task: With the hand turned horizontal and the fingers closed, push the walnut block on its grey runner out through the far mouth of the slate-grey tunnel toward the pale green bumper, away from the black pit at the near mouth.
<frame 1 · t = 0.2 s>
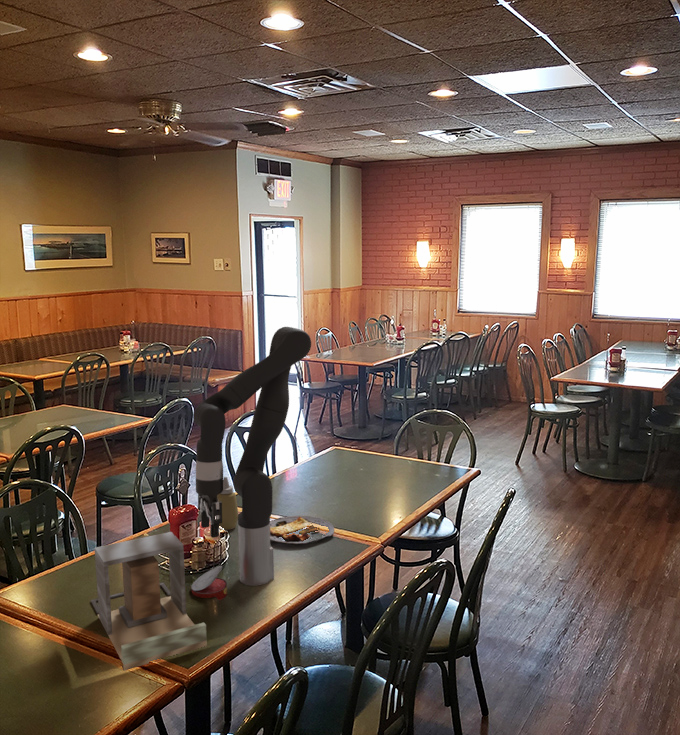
hand: (209, 531, 201), 18 cm above the table, tool pointing down, fingers open, 8 cm apart
tunnel: (143, 621, 187), on the table
squeeze bottle: (227, 527, 251), on the table
canned food: (209, 595, 202), on the table
food plate: (296, 535, 244), on the table
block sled: (141, 586, 186), point 10 cm above the table, slide at 0.0 cm
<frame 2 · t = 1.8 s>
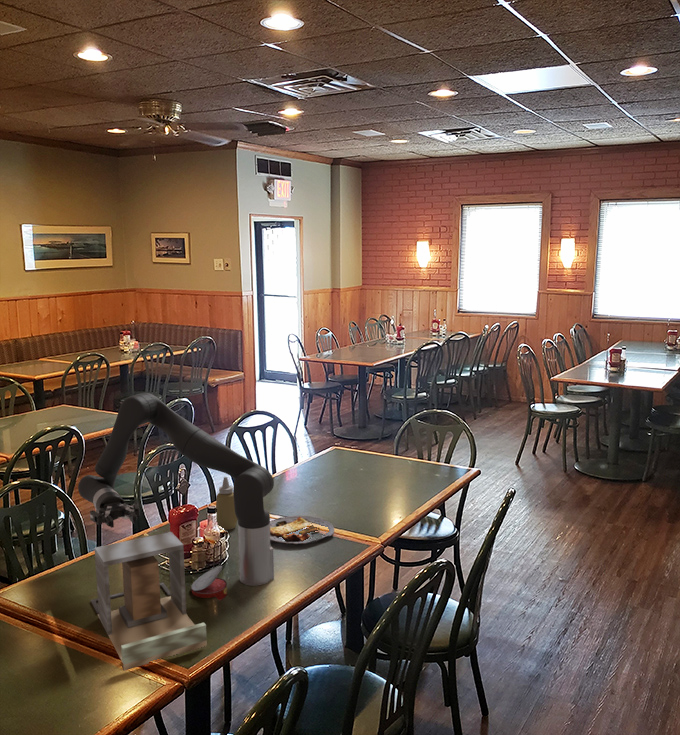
hand: (123, 521, 197), 22 cm above the table, tool horizontal, fingers open, 5 cm apart
nothing on the table moved.
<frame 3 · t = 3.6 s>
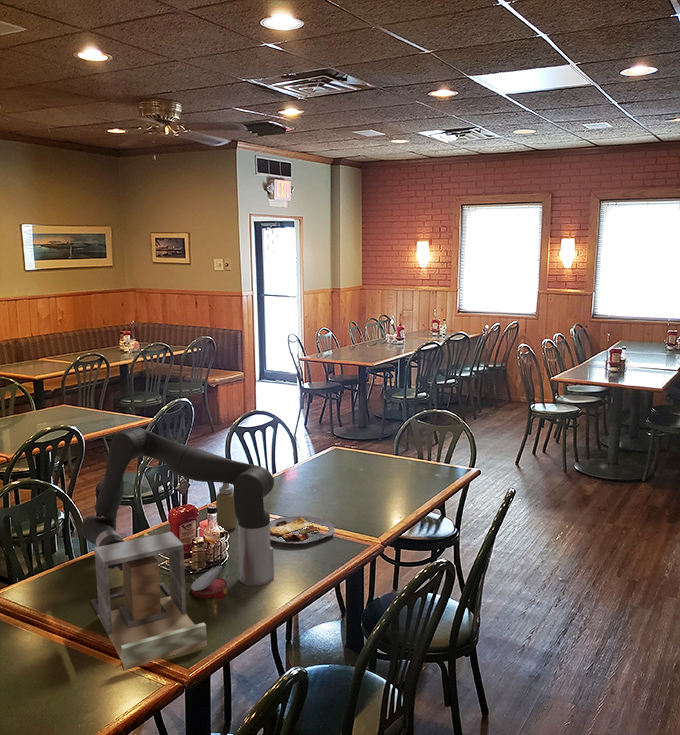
hand: (126, 568, 199), 9 cm above the table, tool horizontal, fingers closed
nothing on the table moved.
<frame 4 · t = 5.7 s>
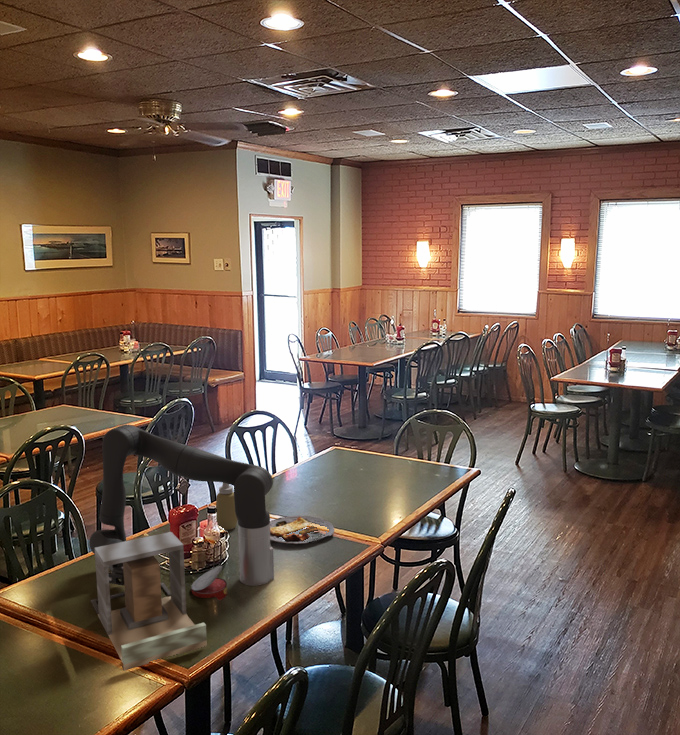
hand: (137, 585, 189), 9 cm above the table, tool horizontal, fingers closed
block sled: (142, 588, 185), point 10 cm above the table, slide at 1.0 cm, touching gripper
everything else where it was.
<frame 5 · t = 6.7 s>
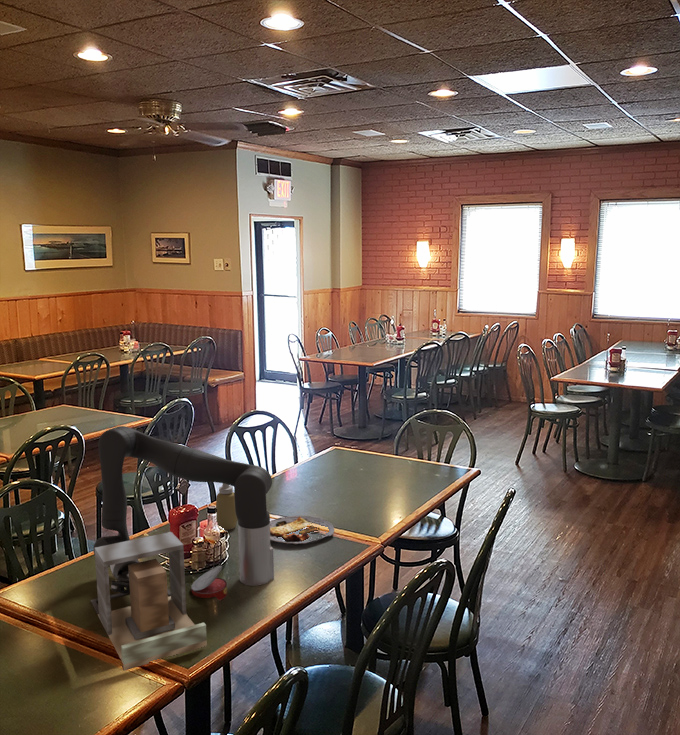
hand: (143, 594, 184), 9 cm above the table, tool horizontal, fingers closed
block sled: (148, 597, 180), point 10 cm above the table, slide at 6.7 cm, touching gripper
everything else where it was.
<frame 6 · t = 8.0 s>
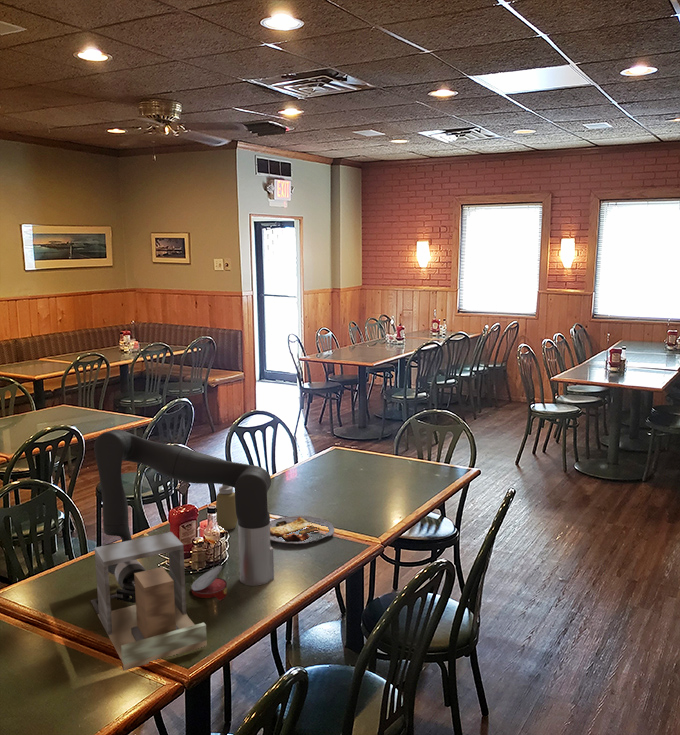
hand: (150, 603, 179), 9 cm above the table, tool horizontal, fingers closed
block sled: (155, 606, 175), point 10 cm above the table, slide at 12.3 cm, touching gripper
everything else where it was.
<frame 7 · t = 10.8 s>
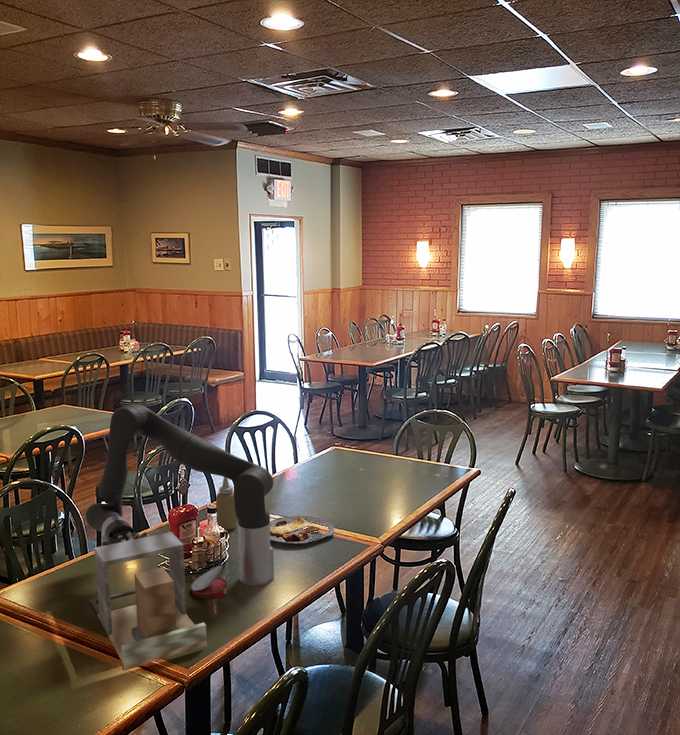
hand: (133, 552, 190), 16 cm above the table, tool horizontal, fingers closed
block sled: (155, 607, 175), point 10 cm above the table, slide at 12.5 cm
everything else where it was.
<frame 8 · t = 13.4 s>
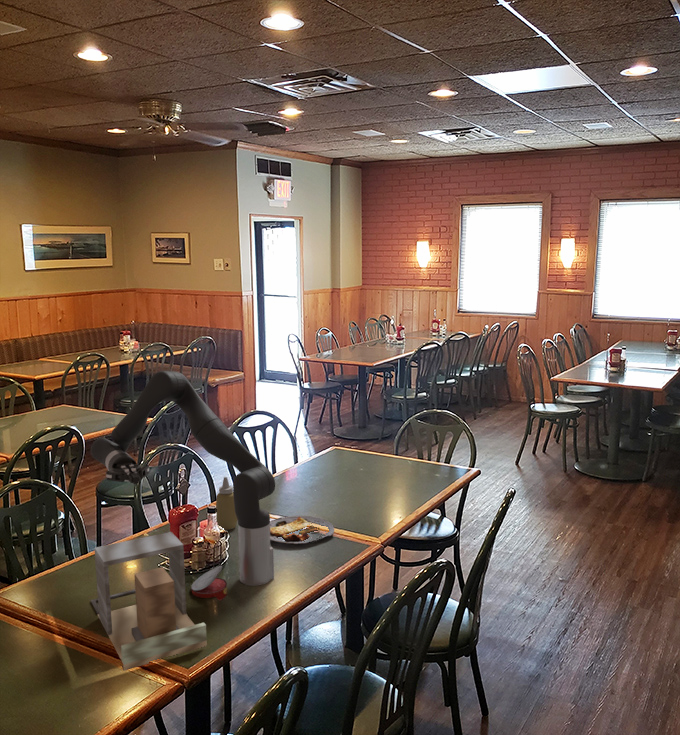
hand: (136, 480, 201), 32 cm above the table, tool horizontal, fingers closed
nothing on the table moved.
at the end: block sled slide at 12.5 cm; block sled inside the target area (0.8 cm from its centre), point 9.6 cm above the table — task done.
